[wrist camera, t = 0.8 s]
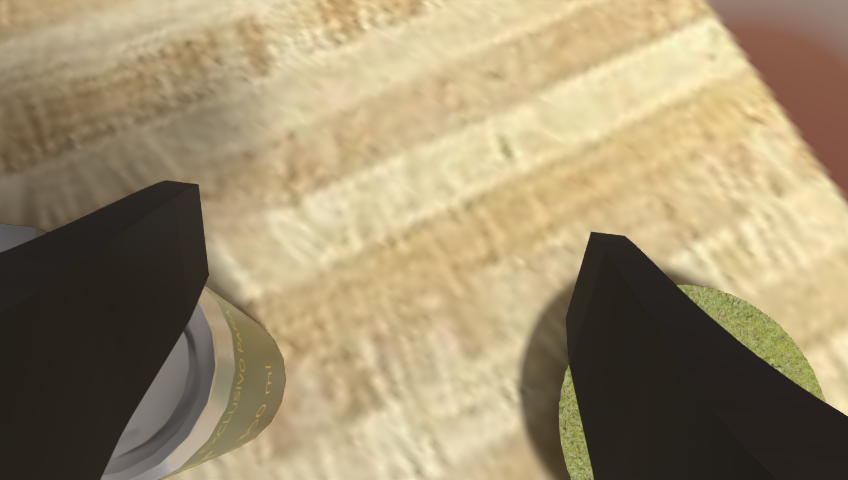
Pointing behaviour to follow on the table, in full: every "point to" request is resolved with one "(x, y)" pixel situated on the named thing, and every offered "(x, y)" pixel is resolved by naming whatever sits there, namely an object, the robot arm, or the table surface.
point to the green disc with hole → (734, 318)
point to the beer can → (203, 395)
